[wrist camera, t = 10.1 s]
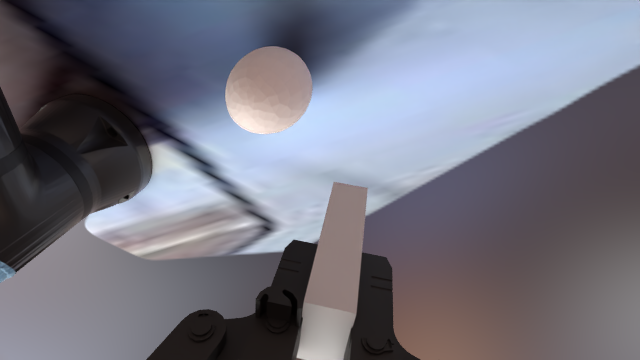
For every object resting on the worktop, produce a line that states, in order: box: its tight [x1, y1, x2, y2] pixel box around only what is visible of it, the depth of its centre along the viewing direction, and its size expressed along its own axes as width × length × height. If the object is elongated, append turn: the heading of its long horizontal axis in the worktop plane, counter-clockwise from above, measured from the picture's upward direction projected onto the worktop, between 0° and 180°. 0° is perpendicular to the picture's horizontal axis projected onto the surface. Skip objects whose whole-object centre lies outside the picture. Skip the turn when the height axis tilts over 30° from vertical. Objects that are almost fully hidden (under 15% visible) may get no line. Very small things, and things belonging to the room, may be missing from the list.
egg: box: [225, 46, 312, 134], centre depth 32 cm, size 7×7×12 cm
